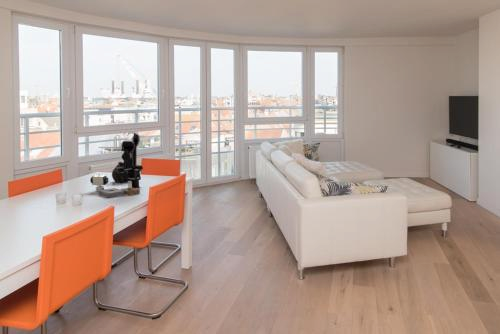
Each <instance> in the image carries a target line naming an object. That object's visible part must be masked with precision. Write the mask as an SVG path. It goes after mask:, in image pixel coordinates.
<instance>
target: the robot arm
mask: <svg viewBox="0 0 500 334" xmlns="http://www.w3.org/2000/svg"><path fill="white" fill-rule="evenodd" d="M140 139H141V138H140V135H139V134H138V133H136V132H133V131H131V132H128V133H127V137H126V139H124V140H123V141H122V143H121V152H123V153H122V154H121V159H122V160H123V161H118V162H117V165H118V166H119V167H118V168H115V167H114V169H115V172H117V173H119V174H120V176H121V178H122V180H123V183H124V182H125V181H124V180H125V172H124V171H125V170H128V173H127V176H128V180H129V181H132V187H133V188H136V189H139V188H140V189H141V186H140V181H141V179H142V178H141V172H142V170H144V167H143V165H141V164H137V158H138V155H137V154H138V151H137V148H138V146H139V145H140V141H141V140H140Z"/></svg>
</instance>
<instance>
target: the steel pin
mask: <svg viewBox="0 0 500 334" xmlns="http://www.w3.org/2000/svg"><path fill="white" fill-rule="evenodd" d="M127 188H128V190H132V181H128V182H127Z"/></svg>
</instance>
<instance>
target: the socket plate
mask: <svg viewBox="0 0 500 334" xmlns="http://www.w3.org/2000/svg"><path fill="white" fill-rule="evenodd" d="M97 192H98V195H99V196H102V197H105V198H107V199H109V198H115V197H122V196H126V195H125V194H124V191H123V190H121V189H119V188H117V187H110V188H106V189H105V188H104V190H98V191H97Z"/></svg>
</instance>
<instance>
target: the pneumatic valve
mask: <svg viewBox="0 0 500 334" xmlns="http://www.w3.org/2000/svg"><path fill="white" fill-rule="evenodd" d="M89 181H90V184H91V185H92V186H95V191H96V192H99V191H98V190H104V189H105V185H107V184H108V183H109V177H108V176H107V175H101V174H99V173H98V175H96V174H95V175H92V176H91V177H90V180H89Z"/></svg>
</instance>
